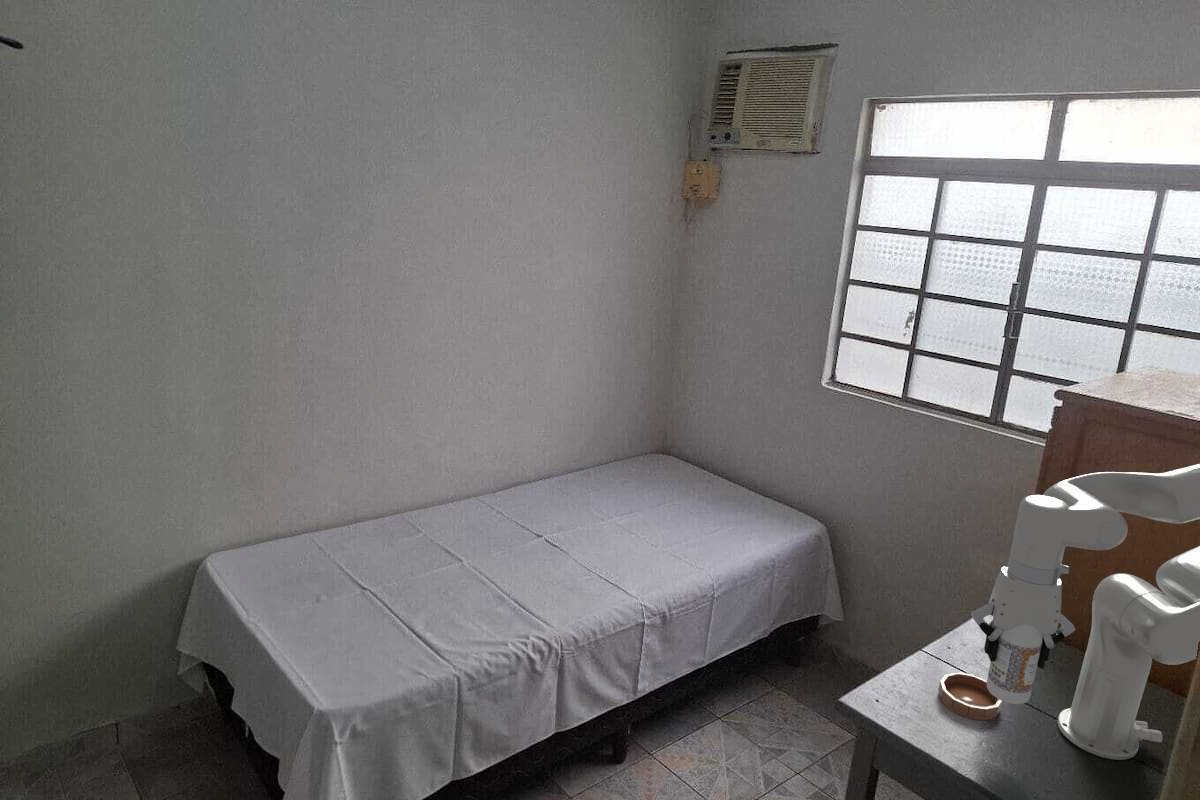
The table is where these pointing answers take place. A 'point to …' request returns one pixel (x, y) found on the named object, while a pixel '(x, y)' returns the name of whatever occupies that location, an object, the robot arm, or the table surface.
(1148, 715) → the table surface
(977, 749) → the table surface
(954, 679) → the ring dish
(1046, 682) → the table surface
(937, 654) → the table surface
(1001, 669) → the bath foam
